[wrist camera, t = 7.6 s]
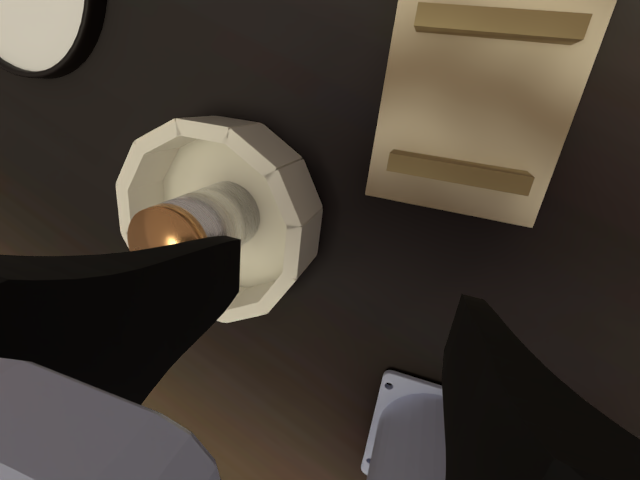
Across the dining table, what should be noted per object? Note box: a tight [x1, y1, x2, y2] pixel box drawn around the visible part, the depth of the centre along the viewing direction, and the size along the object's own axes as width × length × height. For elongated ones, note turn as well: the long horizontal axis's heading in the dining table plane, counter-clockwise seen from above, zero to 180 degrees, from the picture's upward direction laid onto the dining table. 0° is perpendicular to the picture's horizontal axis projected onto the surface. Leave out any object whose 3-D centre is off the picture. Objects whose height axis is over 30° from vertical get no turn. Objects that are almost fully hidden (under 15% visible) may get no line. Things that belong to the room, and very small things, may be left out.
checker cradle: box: [365, 0, 617, 228], centre depth 16 cm, size 10×8×2 cm
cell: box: [127, 181, 260, 251], centre depth 20 cm, size 4×4×6 cm
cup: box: [116, 116, 323, 323], centre depth 21 cm, size 11×11×4 cm
